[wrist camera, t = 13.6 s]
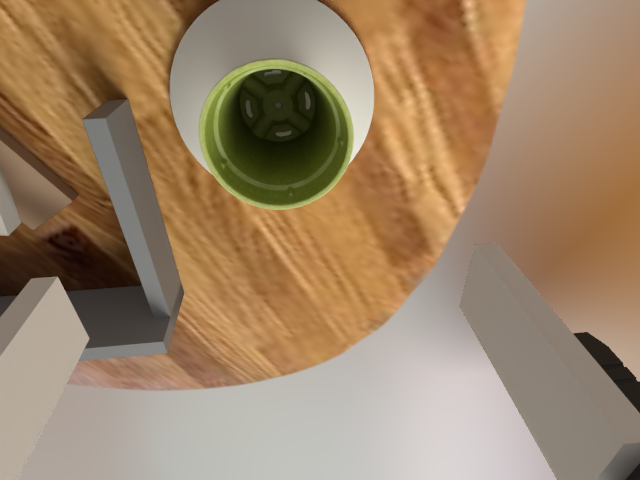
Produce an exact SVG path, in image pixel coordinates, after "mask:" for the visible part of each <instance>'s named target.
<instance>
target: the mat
mask: <svg viewBox="0 0 640 480" xmlns="http://www.w3.org/2000/svg"><path fill="white" fill-rule="evenodd" d="M272 58H276V59H286V60H292V61H296V62H299V63H302V64H304V65H306V66H308V67H311V68H312V69H314V70H316V71H317V72H319V73H320V74H322V75H323V76H324V77H325V78H326V79H328V80H329V81H330V82H331V83H332V84H333V85H334V86H335V88H336V89H337V90H338V92H339V93H340V94H341V96H342V98H343V99H344V101H345V103H346V105H347V107H348V109H349V112H350V115H351V118H352V123H353V130H354V143H353V151H352V155H351V159H350V162H351V161H352V160H353V158H354V157H355V156H356V154H357V153H358V151H359V150H360V148H361V146H362V144H363V142H364V140H365V138H366V135H367V133H368V130H369V127H370V123H371V119H372V115H373V107H374V86H373V78H372V73H371V69H370V66H369V62H368V59H367V57H366V54H365V52H364V50H363V47H362V46H361V44H360V42H359V41H358V39H357V37H356V35H355V34H354V33H353V31H352V30H351V29H350V28H349V26H348V25H347V24H346V23H345V22H344V21H343V20H342V19H341V18H340V17H339V16H338V15H337V14H336V13H335V12H334V11H332V10H331V9H330V8H328V7H327V6H326V5H324V4H323V3H321V2H319V1H317V0H219V1H218V2H216V3H214V4H213V5H211V6H210V7H208V8H207V9H206V10H205V11H204V12H203V13H202V14H201V15H199V16H198V17H197V18H196V20H195V21H194V22H193V23H192V25H191V26H190V27H189V28H188V29H187V31H186V33H185V35H184V36H183V38H182V40H181V41H180V44H179V46H178V49H177V51H176V53H175V56H174V60H173V64H172V68H171V76H170V101H171V107H172V113H173V116H174V119H175V123H176V126H177V128H178V130H179V133H180V135H181V137H182V139H183V141H184V142H185V144H186V146H187V147H188V149H189V150H190V152H191V153H192V154H193V156H194V157H195V158H196V160H197V161H198V162H199V163H200V164H201V165H202V166H203V167H204V168H205V169H206V170H208V171H209V172H210V173H211V171H210V170H209V168H208V166H207V164H206V162H205V159H204V157H203V154H202V151H201V147H200V142H199V119H200V114H201V110H202V107H203V105H204V102H205V100H206V98H207V96H208V95H209V93H210V91H211V90H212V89H213V87H214V86H215V85H216V84H217V83H218V82H219V81H220V80H221V79H222V78H223V77H224V76H225V75H226V74H228V73H229V72H230V71H232V70H234V69H235V68H237V67H239V66H241V65H243V64H246V63H249V62H252V61H256V60H261V59H272ZM281 74H282V73H281V71H278V70H274V71H272V72H266V73H265V74H264V76H265V77H268V76H272V75H281ZM305 98H306V109H309V108H310V98H309V95H308V93H307V92H305ZM275 107H276V108H277V109H280V108H281V107H282V105H281V103H276V104H275ZM246 110H247V114H248V116H249V117H251V118H252V117H253V114H252V112H251V107H250V101H249V100H247V101H246ZM291 132H292V131H287V132H277V133H275V134H276V135H277V136H281V137H282V136H287V135H290V134H291ZM350 162H349V163H350ZM211 174H212V173H211ZM212 175H213V174H212Z"/></svg>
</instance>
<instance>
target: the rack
mask: <svg viewBox="0 0 640 480" xmlns="http://www.w3.org/2000/svg"><path fill="white" fill-rule="evenodd" d="M82 121H83V123H84V126H85V129H86V132H87V135H88V137H89V140H90V143H91V146H92V148H93V151H94V154H95V157H96V159H97V162H98V165H99V168H100V170H101V173H102V176H103V179H104V181H105V184H106V187H107V190H108V192H109V195H110V198H111V201H112V203H113V206H114V209H115V212H116V214H117V217H118V220H119V223H120V226H121V228H122V231H123V234H124V237H125V239H126V242H127V245H128V248H129V250H130V253H131V256H132V259H133V261H134V264H135V267H136V270H137V272H138V275H139V278H140V281H141V283H142V285H141V286H128V287H116V288H103V289H91V290H78V291H66V294H67V296H68V298H69V300H70V301H71V303H72V305H73V307H74V309H75V311H76V313H77V315H78V317H79V319H80V321H81V323H82V325H83V327H84V329H85V331H86V333H87V335H88V337H89V341H88V343H87V345H86V347H85V348H84V350H83V352H82V354H81V356H80V358H79V360H78V361H86V360H97V359H108V358H119V357H130V356H141V355H152V354H163V353H167V352H168V349H169V345H170V342H171V338H172V335H173V331H174V327H175V324H176V320H177V317H178V313H179V310H180V306H181V303H182V299H183V295H184V291H183V287H182V284H181V281H180V277H179V274H178V270H177V267H176V263H175V260H174V256H173V253H172V249H171V246H170V242H169V239H168V235H167V232H166V228H165V225H164V222H163V218H162V215H161V211H160V208H159V204H158V201H157V197H156V194H155V190H154V187H153V183H152V180H151V176H150V173H149V170H148V166H147V163H146V159H145V156H144V152H143V149H142V145H141V142H140V138H139V135H138V131H137V128H136V124H135V121H134V117H133V114H132V111H131V107H130V104H129V100H128V99H118V100H107V101H106V102H105V103H103V104H102V105H101V106H99V107H98V108H97V109H95V110H94V111H93V112H91V113H90V114H89V115H87V116H86V117H85V118H83V119H82ZM17 296H18V295H15V296H3V297H0V317H1V316H2V315H3V313H4V312H5V311H6V310H7V308H8V307H9V306H10V305H11V303H12V302H13V301H14V300H15V298H16V297H17Z"/></svg>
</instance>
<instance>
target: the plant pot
mask: <svg viewBox="0 0 640 480" xmlns="http://www.w3.org/2000/svg"><path fill="white" fill-rule="evenodd" d="M274 70H278V71H281V73H282V74H281V75H272V76H268V77H265V76H264V74H265V73H266V72H272V71H274ZM305 92H307V93H308V95H309V98H310V108H309V109H306V98H305ZM247 100H249V101H250V107H251V112H252V114H253V117H252V118H251V117H249V116H248V114H247V110H246V101H247ZM276 103H281V105H282V107H281V108H280V109H277V108H276V107H275V104H276ZM287 131H292V132H291V134H290V135H287V136H282V137H281V136H277V135H276V134H275V133H277V132H287ZM199 142H200V147H201V151H202V154H203V157H204V159H205V162H206V164H207V166H208V168H209V170H210V171H211V173H212V174H213V176H214V177H215V178H216V179H217V181H218V182H219V183H220V184H221V185H222V186H223V187H224V188H225V189H226V190H227V191H228V192H230V193H231V194H233V195H234V196H235V197H237V198H238V199H240V200H242V201H244V202H246V203H248V204H251V205H254V206H257V207H261V208H266V209H274V210H284V209H292V208H297V207H301V206H304V205H307V204H309V203H311V202H313V201H315V200H317V199H319V198H320V197H322V196H323V195H325V194H326V193H327V192H328V191H330V190H331V189H332V188H333V187H334V186H335V185H336V183H337V182H338V181H339V180H340V178H341V177H342V175H343V174H344V172H345V171H346V169H347V167H348V164H349V162H350V159H351V155H352V151H353V143H354V130H353V123H352V118H351V115H350V112H349V109H348V107H347V105H346V103H345V101H344V99H343V98H342V96H341V94H340V93H339V92H338V90H337V89H336V88H335V86H334V85H333V84H332V83H331V82H330V81H329V80H328V79H326V78H325V77H324V76H323V75H322V74H320V73H319V72H317V71H316V70H314V69H312V68H311V67H308V66H306V65H304V64H302V63H299V62H296V61H292V60H286V59H276V58H272V59H261V60H256V61H252V62H249V63H246V64H243V65H241V66H239V67H237V68H235V69H234V70H232V71H230V72H229V73H228V74H226V75H225V76H224V77H223V78H222V79H221V80H220V81H219V82H218V83H217V84H216V85H215V86H214V87H213V89H212V90H211V91H210V93H209V95H208V96H207V98H206V100H205V102H204V105H203V107H202V110H201V114H200V119H199Z"/></svg>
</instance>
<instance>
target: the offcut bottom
mask: <svg viewBox="0 0 640 480" xmlns="http://www.w3.org/2000/svg"><path fill="white" fill-rule="evenodd" d="M0 164H1V167H2V169H3V172H4V175H5V178H6V181H7V184H8V186H9V189H10V192H11V195H12V198H13V201H14V203H15V206H16V209H17V212H18V215H19V218H20V220H21V222H23V223H24V224H25V225H27V226H28V227H29V228H30V229H32V230H34V229H36V228H37V227H39V226H40V225H41V224H43V223H44V222H45V221H47V220H48V219H49V218H51V217H52V216H54V215H55V214H56V213H58V212H59V211H60V210H62V209H63V208H64V207H66V206H67V205H68V204H70V203H71V202H73V201H74V199H75V198H76V197H77V196H78V194H77V193H76V192H75V191H74V190H73V189H72V188H70V187H69V186H68V185H67V184H66V183H65V182H63V181H62V180H61V179H60V178H59V177H58V176H56V175H55V174H54V173H53V172H52V171H51V170H49V169H48V168H47V167H46V166H45V165H44V164H42V163H41V162H40V161H39V160H38V159H37V158H36V157H34V156H33V155H32V154H31V153H30V152H29V151H27V150H26V149H25V148H24V147H23V146H22V145H20V144H19V143H18V142H17V141H16V140H15V139H13V138H12V137H11V136H10V135H9V134H8V133H7V132H5V131H4V130H3V129H2V128H1V127H0Z"/></svg>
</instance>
